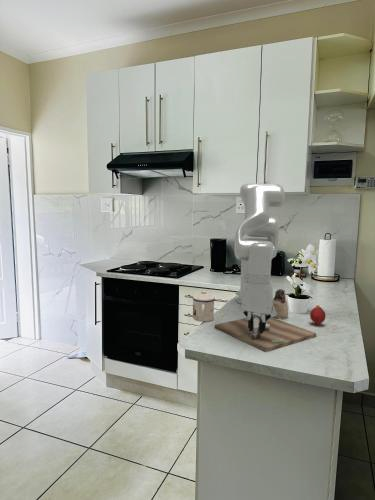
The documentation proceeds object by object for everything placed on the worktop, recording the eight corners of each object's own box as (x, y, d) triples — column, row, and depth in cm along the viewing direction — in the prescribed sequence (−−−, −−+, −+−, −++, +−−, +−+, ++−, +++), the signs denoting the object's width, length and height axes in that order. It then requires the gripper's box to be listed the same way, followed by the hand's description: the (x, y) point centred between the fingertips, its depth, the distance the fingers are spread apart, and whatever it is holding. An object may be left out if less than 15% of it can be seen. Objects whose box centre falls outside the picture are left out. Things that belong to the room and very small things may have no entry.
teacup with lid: (192, 314, 144) (193, 288, 143) (214, 315, 144) (215, 288, 142) (190, 324, 133) (191, 294, 131) (214, 325, 132) (214, 295, 130)
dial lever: (260, 325, 128) (261, 307, 127) (271, 327, 126) (272, 308, 125) (246, 337, 115) (247, 317, 114) (257, 340, 113) (258, 319, 112)
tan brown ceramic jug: (283, 313, 149) (284, 287, 148) (290, 318, 142) (292, 290, 141) (268, 314, 148) (269, 287, 146) (274, 319, 141) (276, 291, 139)
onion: (312, 321, 139) (313, 302, 138) (326, 324, 136) (328, 304, 135) (307, 324, 135) (308, 305, 134) (322, 328, 131) (323, 308, 130)
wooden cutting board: (262, 317, 143) (262, 313, 143) (316, 336, 122) (316, 332, 122) (214, 327, 129) (214, 324, 129) (265, 352, 107) (266, 347, 107)
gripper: (232, 278, 115) (230, 330, 118) (281, 283, 108) (278, 339, 110) (239, 274, 122) (237, 324, 124) (285, 279, 115) (282, 332, 117)
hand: (256, 330), depth 117 cm, fingers closed on dial lever, 3 cm apart
